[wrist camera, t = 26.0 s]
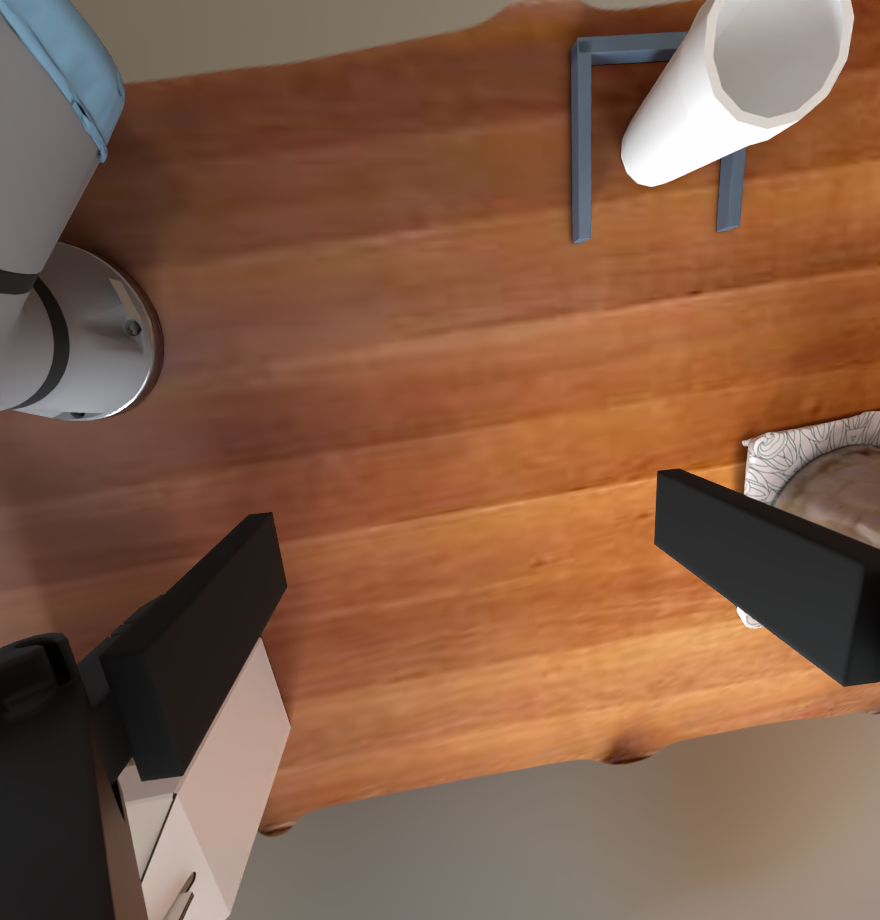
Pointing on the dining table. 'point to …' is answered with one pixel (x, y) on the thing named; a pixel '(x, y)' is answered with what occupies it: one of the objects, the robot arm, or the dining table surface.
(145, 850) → the gable box
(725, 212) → the bay
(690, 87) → the foam cup
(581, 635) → the dining table surface
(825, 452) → the cookie jar
